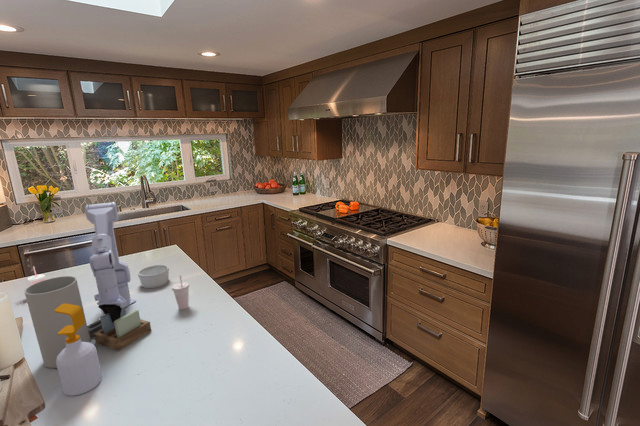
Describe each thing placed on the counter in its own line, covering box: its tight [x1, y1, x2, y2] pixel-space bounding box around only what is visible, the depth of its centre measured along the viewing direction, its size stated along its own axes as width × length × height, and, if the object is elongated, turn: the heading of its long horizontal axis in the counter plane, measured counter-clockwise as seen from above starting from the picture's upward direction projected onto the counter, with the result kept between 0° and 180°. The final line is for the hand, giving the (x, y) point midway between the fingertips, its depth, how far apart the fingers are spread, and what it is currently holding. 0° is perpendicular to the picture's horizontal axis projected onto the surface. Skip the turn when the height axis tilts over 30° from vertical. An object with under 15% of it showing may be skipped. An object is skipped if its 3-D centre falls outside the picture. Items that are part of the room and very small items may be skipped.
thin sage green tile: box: [114, 309, 141, 339], centre depth 114 cm, size 1×8×9 cm, turn 155°
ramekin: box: [137, 264, 170, 289], centre depth 157 cm, size 13×13×7 cm
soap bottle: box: [55, 303, 103, 397], centre depth 91 cm, size 9×9×25 cm
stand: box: [87, 319, 102, 340], centre depth 122 cm, size 4×12×3 cm, turn 155°
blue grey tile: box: [99, 307, 127, 334], centre depth 117 cm, size 1×8×9 cm, turn 155°
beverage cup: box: [27, 265, 46, 286], centre depth 148 cm, size 6×6×14 cm
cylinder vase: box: [23, 275, 92, 369], centre depth 104 cm, size 12×12×25 cm
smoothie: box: [171, 275, 190, 311], centre depth 133 cm, size 6×6×14 cm
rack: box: [93, 318, 152, 352], centre depth 116 cm, size 12×12×4 cm
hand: (114, 321), depth 116 cm, fingers closed on blue grey tile, 1 cm apart
